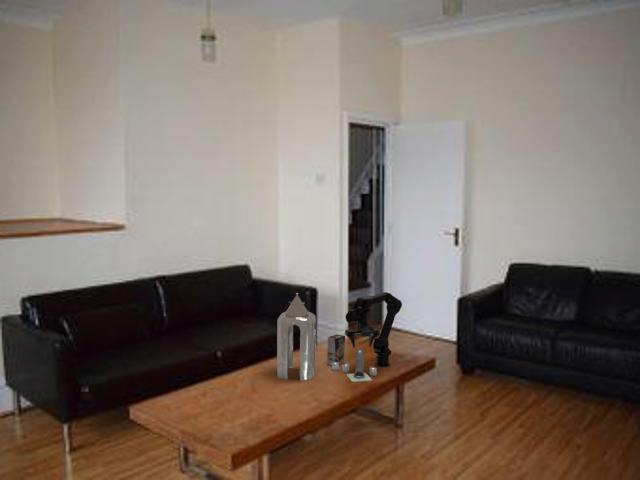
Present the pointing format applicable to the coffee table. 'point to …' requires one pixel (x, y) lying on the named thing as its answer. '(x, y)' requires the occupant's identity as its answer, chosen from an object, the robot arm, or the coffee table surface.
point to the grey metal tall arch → (285, 340)
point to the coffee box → (336, 349)
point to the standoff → (359, 364)
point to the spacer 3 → (373, 371)
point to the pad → (367, 378)
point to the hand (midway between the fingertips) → (361, 347)
